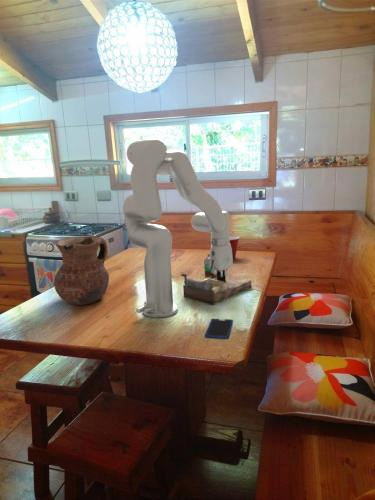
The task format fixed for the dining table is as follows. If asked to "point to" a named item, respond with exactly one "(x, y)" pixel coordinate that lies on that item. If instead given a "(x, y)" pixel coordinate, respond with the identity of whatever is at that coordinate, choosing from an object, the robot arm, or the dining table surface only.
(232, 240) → the plastic cup
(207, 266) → the food container
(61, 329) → the dining table surface
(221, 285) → the crate
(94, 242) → the jug
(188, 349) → the dining table surface
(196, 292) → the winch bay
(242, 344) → the dining table surface
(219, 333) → the cell phone
